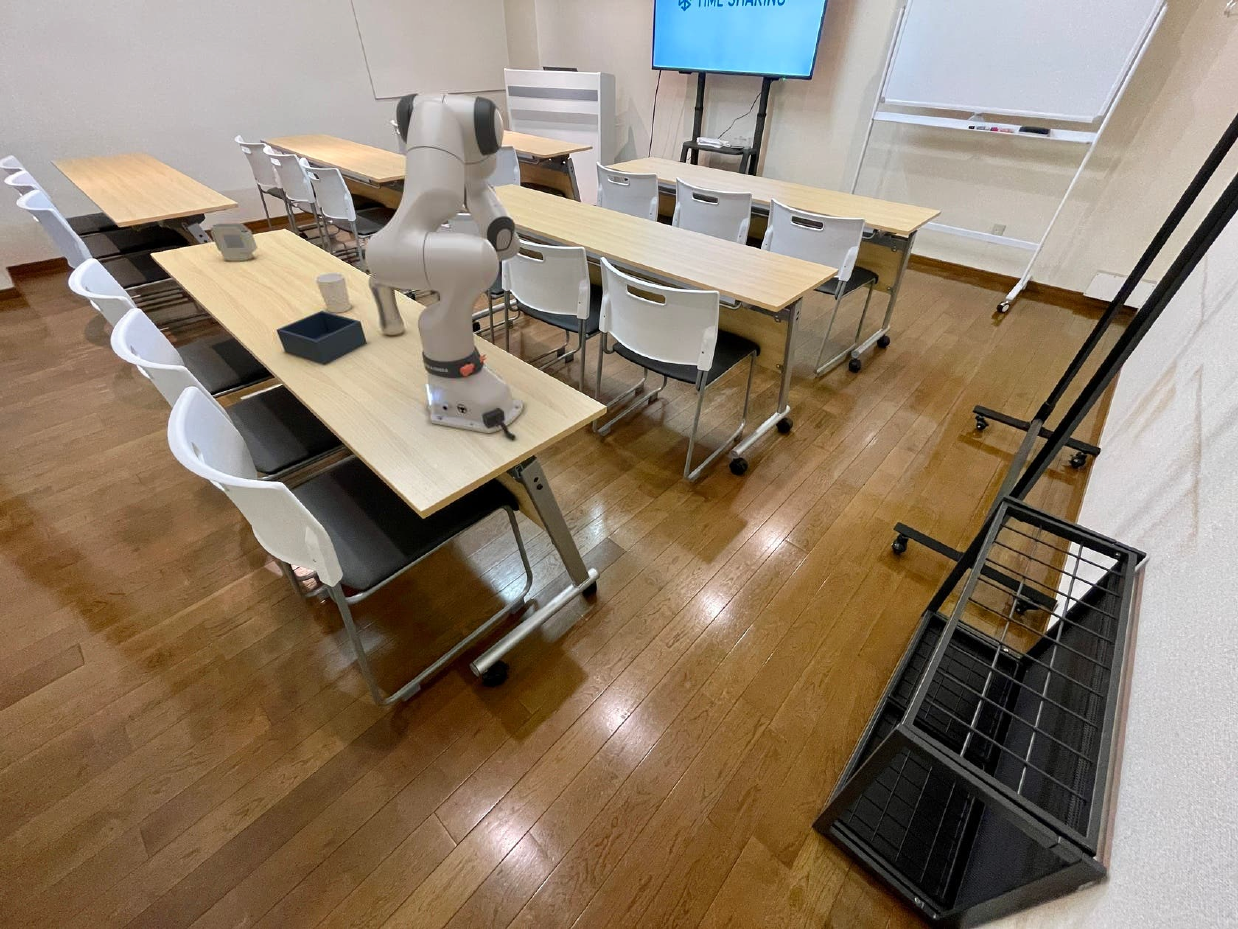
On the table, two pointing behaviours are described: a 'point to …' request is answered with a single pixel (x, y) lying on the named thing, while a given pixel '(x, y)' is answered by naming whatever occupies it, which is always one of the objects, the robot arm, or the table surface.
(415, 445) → the table surface
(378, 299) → the metal water bottle
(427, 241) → the robot arm
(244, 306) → the table surface
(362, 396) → the table surface
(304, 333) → the tub
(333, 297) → the white cup
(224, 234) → the cable organizer
